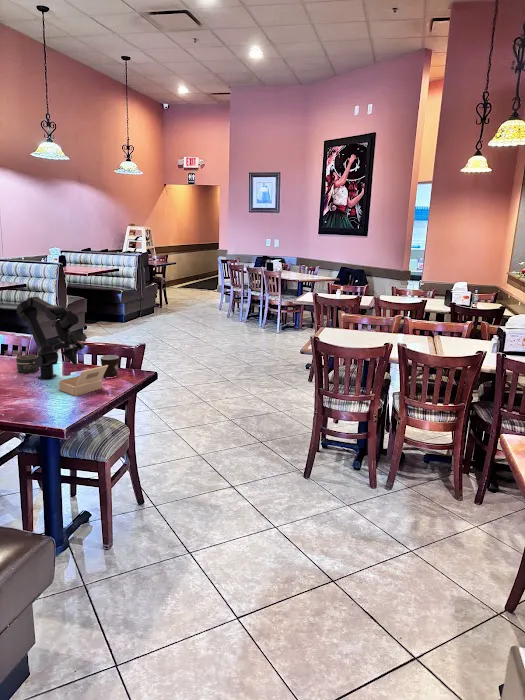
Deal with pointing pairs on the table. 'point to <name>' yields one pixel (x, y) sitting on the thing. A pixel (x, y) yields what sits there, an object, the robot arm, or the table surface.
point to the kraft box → (72, 389)
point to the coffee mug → (110, 365)
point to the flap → (91, 375)
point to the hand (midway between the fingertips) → (75, 364)
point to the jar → (26, 364)
